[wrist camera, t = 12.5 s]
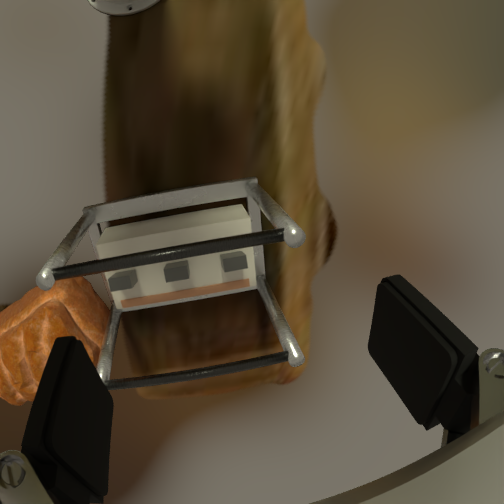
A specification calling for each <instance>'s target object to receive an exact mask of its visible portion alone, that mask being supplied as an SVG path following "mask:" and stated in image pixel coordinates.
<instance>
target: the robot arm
mask: <svg viewBox="0 0 504 504" xmlns="http://www.w3.org/2000/svg"><path fill="white" fill-rule="evenodd" d="M94 1H95V0H88V2H89V3H90V4H91V5H92V6H93V7H94V8H95V9H96V10H98V11H100V12H102V13H104V14H107V15H114V16H125V15H130V14H135V13H138V12H141V11H143V10H146V9H148V8H150V7H151V6H153V5H154V4H156V3H158V2H159V1H160V0H97V1H96V2H94ZM130 8H132V10H130V11H129V9H130ZM368 350H369V353H370V355H371V357H372V358H373V360H374V361H375V362H376V364H377V365H378V367H379V368H380V369H381V371H382V372H383V374H384V375H385V377H386V378H387V380H388V381H389V382H390V384H391V385H392V387H393V388H394V390H395V391H396V392H397V394H398V395H399V397H400V398H401V400H402V401H403V403H404V404H405V406H406V407H407V408H408V410H409V412H410V413H411V415H412V416H413V417H414V419H415V420H416V421H417V423H418V424H420V425H422V424H423V426H424V427H425V429H426V430H429V429H431V428H433V427H434V426H436V425H438V424H440V423H441V425H442V426H443V427H444V429H443V437H442V443H441V448H440V449H438V450H436V451H434V452H433V453H431V454H429V455H427V456H425V457H423V458H421V459H419V460H418V461H416V462H414V463H412V464H410V465H408V466H406V467H403V468H401V469H399V470H397V471H395V472H393V473H391V474H388V475H386V476H384V477H381V478H379V479H377V480H375V481H372V482H370V483H367V484H365V485H363V486H360V487H357V488H354V489H352V490H349V491H346V492H343V493H341V494H338V495H335V496H332V497H329V498H326V499H323V500H320V501H316V502H313V503H310V504H504V350H502V349H498V348H491V349H487V350H485V351H484V352H482V354H481V355H480V356H479V355H478V354H477V350H478V347H477V346H476V345H475V344H474V343H472V341H471V340H470V339H468V337H466V335H464V333H462V332H461V331H460V330H459V329H458V328H457V327H456V326H455V325H454V324H453V323H452V322H451V321H450V320H449V319H448V318H447V317H446V316H445V315H443V313H442V312H440V310H439V309H437V308H436V307H435V306H434V305H433V304H432V303H431V302H430V301H429V300H428V299H427V298H425V297H424V296H423V295H422V294H421V293H420V292H419V291H418V290H417V289H416V288H415V287H413V286H412V285H411V284H410V283H409V282H408V281H407V280H406V279H404V278H403V277H402V276H401V275H393V276H390V277H386V278H383V279H382V281H381V283H380V284H378V286H377V292H376V299H375V306H374V312H373V319H372V325H371V330H370V336H369V342H368ZM112 417H113V399H112V396H111V395H110V393H109V391H108V389H107V388H106V386H105V384H104V382H103V381H102V379H101V377H100V375H99V373H98V372H97V370H96V368H95V366H94V364H93V362H92V360H91V358H90V356H89V355H88V353H87V351H86V349H85V347H84V345H83V343H82V341H81V340H77V339H76V337H75V336H64V337H57V338H56V339H55V341H54V344H53V347H52V349H51V352H50V354H49V357H48V360H47V363H46V365H45V368H44V371H43V374H42V377H41V380H40V383H39V386H38V389H37V392H36V395H35V398H34V401H33V404H32V408H31V411H30V415H29V418H28V422H27V425H26V429H25V433H24V437H23V441H22V445H21V446H22V450H21V452H19V451H15V450H9V451H6V452H4V453H2V454H0V504H89V503H103V496H105V495H107V492H108V472H109V454H110V453H109V452H110V439H111V427H112Z"/></svg>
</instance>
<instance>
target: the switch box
mask: <svg viewBox="0 0 504 504" xmlns="http://www.w3.org/2000/svg"><path fill="white" fill-rule="evenodd" d="M247 233H252V230H251V220H250V216H249V215H248V213H247V212H246V210H245V208H244V207H243V205H242V204H238V205H232V206H225V207H219V208H213V209H207V210H201V211H195V212H189V213H183V214H177V215H171V216H166V217H160V218H155V219H149V220H144V221H139V222H133V223H128V224H123V225H118V226H113V227H108V228H105V229H104V231H103V233H102V235H101V236H100V238H99V240H98V242H97V244H96V247H97V251H98V254H99V257H100V259H104V258H110V257H115V256H120V255H126V254H131V253H137V252H143V251H148V250H154V249H159V248H165V247H171V246H176V245H182V244H188V243H194V242H200V241H205V240H211V239H217V238H223V237H229V236H235V235H241V234H247ZM237 251H242V252H243V253H244V254H246V258H247V264H248V268H247V269H241V270H236V271H230V272H224V270H223V268H222V264H221V258H220V254H226V253H232V252H237ZM185 260H188V264H189V270H190V277H189V279H185V280H179V281H173V282H167V283H166V280H165V275H164V270H163V269H164V267H165V265H166V264H168V263H174V262H179V261H185ZM134 269H135V270H136V275H137V279H138V282H137V283H136V284H135V285H134V287H133V288H131V289H125V290H119V291H113V292H111V294H112V297H113V300H114V303H115V305H116V308H117V309H123V308H130V307H136V306H143V305H149V304H155V303H161V302H167V301H173V300H179V299H185V298H191V297H197V296H202V295H208V294H214V293H219V292H225V291H230V290H236V289H241V288H246V287H252V286H257V283H256V272H255V262H254V251H253V247H247V248H241V249H235V250H230V251H224V252H218V253H212V254H206V255H201V256H195V257H189V258H183V259H177V260H172V261H166V262H160V263H155V264H149V265H143V266H137V267H132V268H126V269H120V270H115V271H109V272H104V273H105V276H106V279H107V282H108V278H110V277H111V276H112V275H113V274H114V273H116V272H122V271H128V270H134ZM108 285H109V282H108ZM109 288H110V287H109Z"/></svg>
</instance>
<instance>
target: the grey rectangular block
mask: <svg viewBox="0 0 504 504" xmlns="http://www.w3.org/2000/svg"><path fill="white" fill-rule="evenodd" d="M108 282H109V287H110V291H111V292H113V291H119V290H125V289H131V288H133V287H134V285H135V284H136V283H137V282H138V279H137V275H136V270H135V269H134V270H128V271H122V272H116V273H114V274H113V275H112V276H111V277H110V278H108Z"/></svg>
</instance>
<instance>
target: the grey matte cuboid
mask: <svg viewBox="0 0 504 504" xmlns="http://www.w3.org/2000/svg"><path fill="white" fill-rule="evenodd" d="M220 258H221V264H222V268H223V270H224V272H230V271H236V270H241V269H247V268H248V264H247V258H246V254H244V253H243V252H242V251H237V252H232V253H226V254H220Z"/></svg>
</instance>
